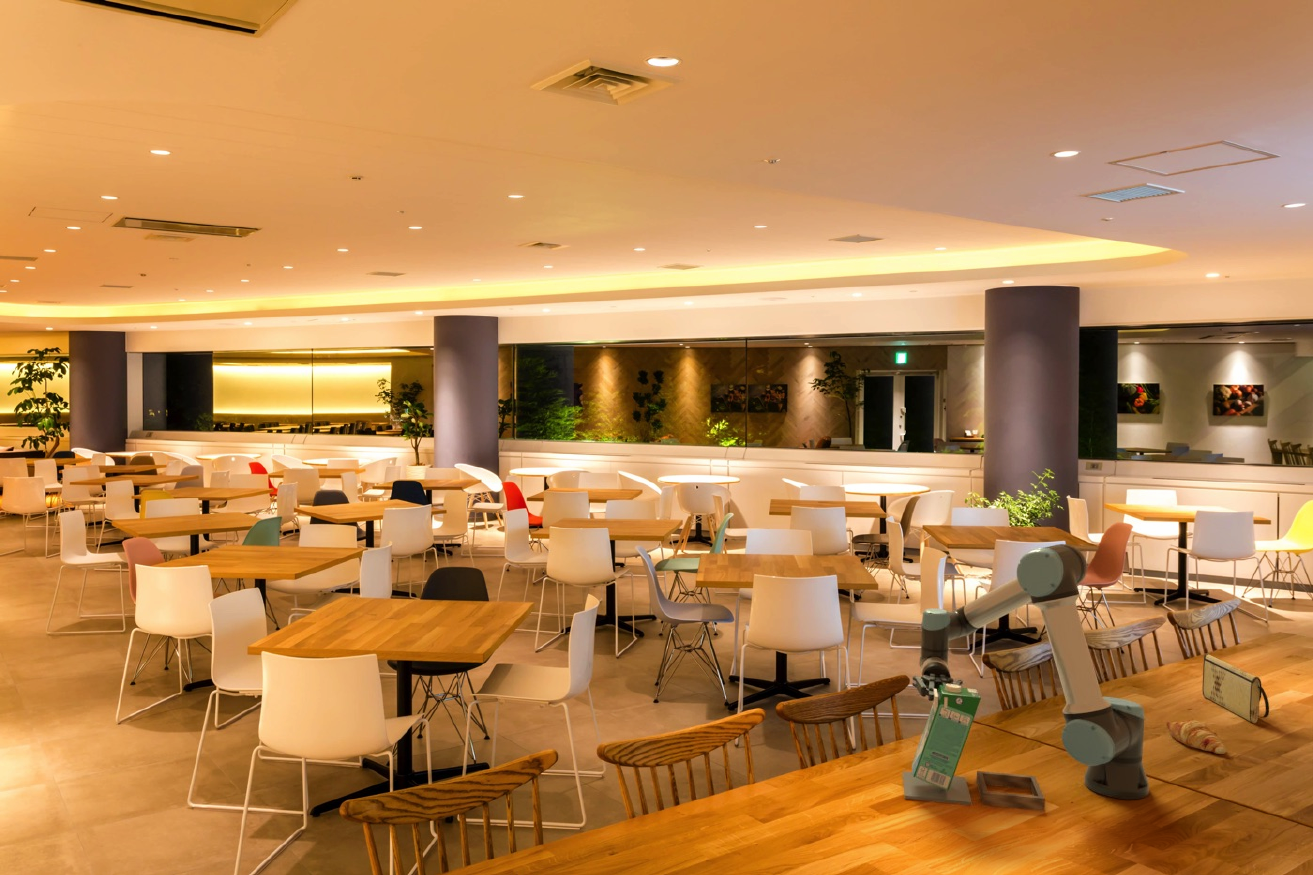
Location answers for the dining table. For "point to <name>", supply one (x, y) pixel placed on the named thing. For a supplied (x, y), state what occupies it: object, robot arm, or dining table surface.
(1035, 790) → the frame
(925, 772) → the milk carton
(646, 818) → the dining table surface
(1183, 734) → the croissant
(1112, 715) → the robot arm
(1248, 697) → the clutch purse
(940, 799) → the slate coaster
